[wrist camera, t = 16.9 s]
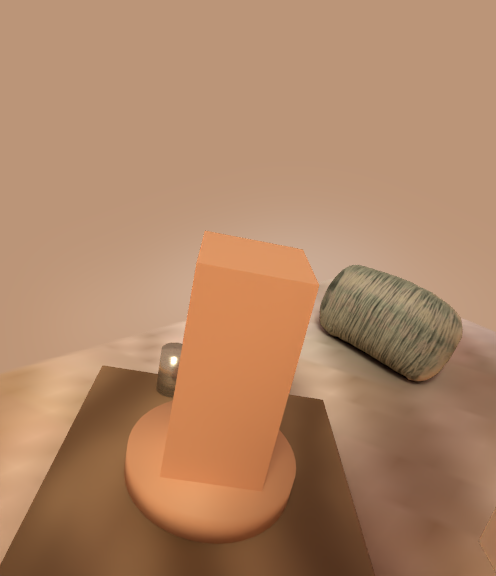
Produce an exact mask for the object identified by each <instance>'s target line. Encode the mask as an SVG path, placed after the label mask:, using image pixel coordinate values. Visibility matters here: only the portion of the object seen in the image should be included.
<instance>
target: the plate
mask: <svg viewBox="0 0 496 576" xmlns="http://www.w3.org/2000/svg"><path fill="white" fill-rule="evenodd" d="M157 378H158V374H154V373H147V372H141V371H135V370H128V369H122V368H115V367H109V366H102V368H101V370H100V372H99V374H98V375H97V377H96V379H95V381H94V383H93V385H92V387H91V389H90V391H89V393H88V395H87V397H86V399H85V401H84V403H83V405H82V407H81V409H80V411H79V413H78V414H77V416H76V418H75V420H74V422H73V424H72V426H71V428H70V430H69V432H68V434H67V436H66V438H65V440H64V442H63V444H62V446H61V448H60V450H59V452H58V454H57V455H56V457H55V459H54V461H53V463H52V465H51V467H50V469H49V471H48V473H47V475H46V477H45V479H44V481H43V483H42V485H41V487H40V489H39V491H38V493H37V494H36V496H35V498H34V500H33V502H32V504H31V506H30V508H29V510H28V512H27V514H26V516H25V518H24V520H23V522H22V524H21V526H20V528H19V530H18V532H17V533H16V535H15V537H14V539H13V541H12V543H11V545H10V547H9V549H8V551H7V553H6V555H5V557H4V559H3V561H2V563H1V565H0V576H375V574H374V571H373V567H372V564H371V561H370V557H369V554H368V550H367V547H366V544H365V540H364V537H363V534H362V530H361V527H360V523H359V520H358V517H357V513H356V510H355V507H354V503H353V500H352V496H351V493H350V490H349V486H348V483H347V480H346V476H345V473H344V470H343V466H342V463H341V459H340V456H339V453H338V449H337V446H336V443H335V439H334V436H333V432H332V429H331V426H330V422H329V419H328V416H327V412H326V409H325V405H324V402H323V400H320V399H314V398H307V397H301V396H294V395H289V396H288V399H287V403H286V406H285V410H284V414H283V417H282V421H281V424H280V428H279V430H280V431H281V432H282V434H283V435H284V436H285V438H286V439H287V441H288V442H289V444H290V446H291V448H292V450H293V453H294V456H295V460H296V475H295V479H294V482H293V486H292V489H291V492H290V495H289V499H288V502H287V505H286V507H285V509H284V511H283V513H282V515H281V516H280V517H279V519H278V520H277V521H276V522H275V523H274V524H273V525H272V526H271V527H270V528H268V529H267V530H265V531H264V532H262V533H261V534H258V535H256V536H254V537H252V538H249V539H246V540H243V541H239V542H233V543H225V544H210V543H201V542H195V541H190V540H187V539H184V538H181V537H178V536H175V535H173V534H171V533H169V532H166V531H165V530H163V529H161V528H160V527H158V526H156V525H155V524H154V523H152V522H151V521H150V520H149V519H147V518H146V517H145V516H144V515H143V514H142V513H141V512H140V511H139V509H138V508H137V507H136V505H135V504H134V503H133V501H132V499H131V497H130V495H129V493H128V491H127V487H126V484H125V478H124V466H125V458H126V451H127V444H128V439H129V435H130V433H131V431H132V429H133V427H134V426H135V424H136V423H137V421H138V420H139V419H140V418H141V417H142V416H143V415H145V414H146V413H147V412H148V411H150V410H152V409H153V408H155V407H157V406H159V405H161V404H164V403H167V402H170V401H173V398H171V397H166V396H163V395H161V394H159V393H158V392H157V390H156V384H157Z"/></svg>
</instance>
